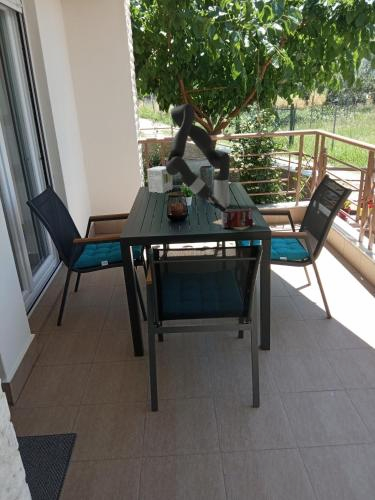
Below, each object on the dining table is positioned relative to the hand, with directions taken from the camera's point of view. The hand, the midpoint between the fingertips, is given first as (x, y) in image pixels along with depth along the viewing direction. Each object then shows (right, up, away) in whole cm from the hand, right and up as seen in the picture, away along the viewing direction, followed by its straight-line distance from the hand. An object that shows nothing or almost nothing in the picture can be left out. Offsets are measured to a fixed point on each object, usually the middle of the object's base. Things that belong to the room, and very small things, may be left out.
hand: (224, 210), depth 199 cm
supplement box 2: (-1, -4, +4) cm, 6 cm away
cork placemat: (+6, -6, +11) cm, 14 cm away
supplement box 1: (-39, +25, +97) cm, 107 cm away
